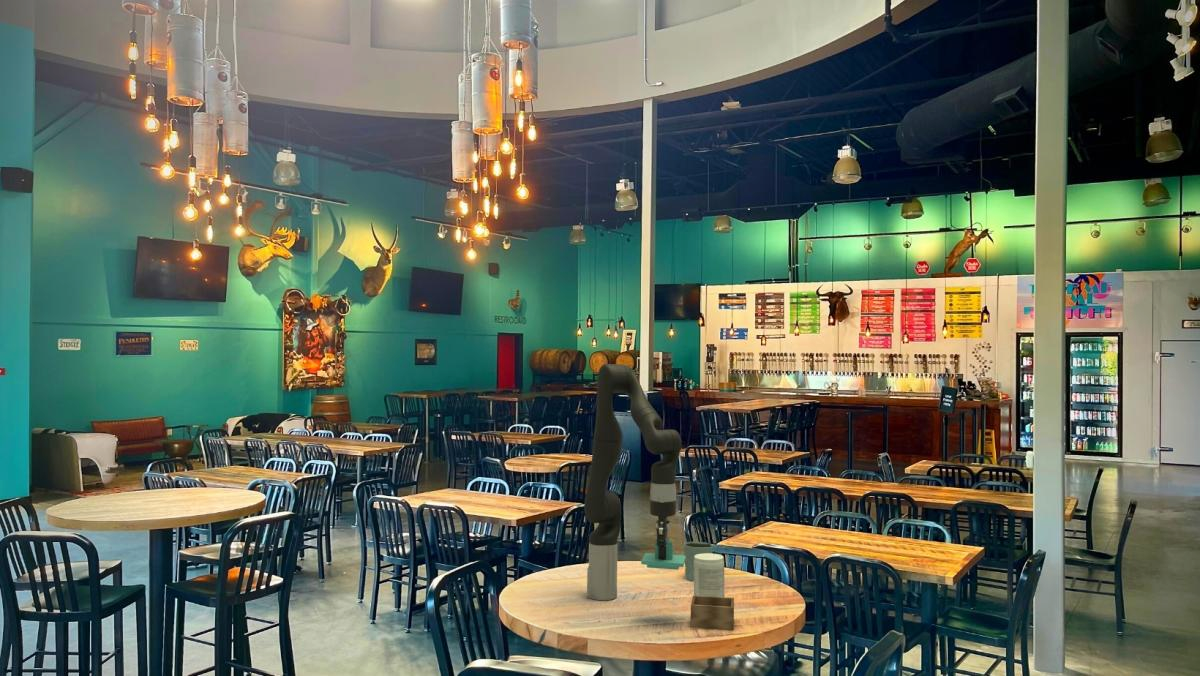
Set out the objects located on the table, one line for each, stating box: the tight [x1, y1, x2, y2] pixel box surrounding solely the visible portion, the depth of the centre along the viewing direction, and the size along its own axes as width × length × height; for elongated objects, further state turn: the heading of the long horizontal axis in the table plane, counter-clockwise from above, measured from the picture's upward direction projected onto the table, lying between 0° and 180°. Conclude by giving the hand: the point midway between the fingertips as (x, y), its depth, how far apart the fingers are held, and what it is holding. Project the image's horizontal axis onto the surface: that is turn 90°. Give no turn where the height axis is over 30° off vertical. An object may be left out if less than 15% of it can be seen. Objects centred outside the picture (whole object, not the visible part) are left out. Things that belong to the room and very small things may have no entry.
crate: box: [690, 594, 735, 631], centre depth 238 cm, size 12×10×7 cm
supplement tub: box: [693, 553, 726, 597], centre depth 260 cm, size 10×10×15 cm
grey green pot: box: [683, 541, 714, 582], centre depth 290 cm, size 10×10×12 cm
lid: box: [640, 538, 686, 571], centre depth 240 cm, size 12×10×7 cm
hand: (662, 557), depth 240 cm, fingers closed on lid, 3 cm apart
